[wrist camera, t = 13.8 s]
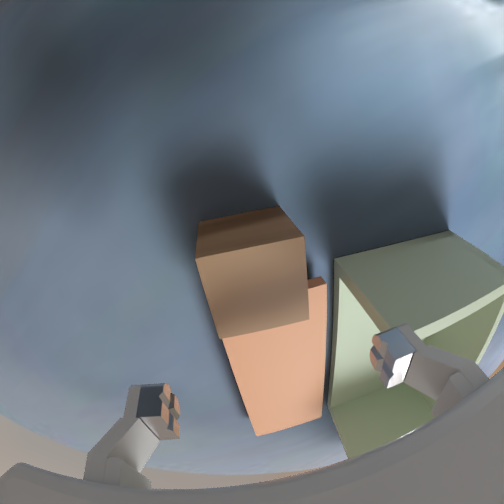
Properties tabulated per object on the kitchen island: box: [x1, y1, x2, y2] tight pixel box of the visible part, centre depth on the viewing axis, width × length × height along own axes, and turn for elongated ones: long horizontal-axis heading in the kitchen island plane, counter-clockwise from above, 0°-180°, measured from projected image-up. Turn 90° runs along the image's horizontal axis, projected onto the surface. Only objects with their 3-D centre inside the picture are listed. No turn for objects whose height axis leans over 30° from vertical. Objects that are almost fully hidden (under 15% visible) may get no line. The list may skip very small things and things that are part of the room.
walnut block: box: [195, 206, 309, 339], centre depth 16 cm, size 5×5×5 cm
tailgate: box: [222, 276, 327, 436], centre depth 22 cm, size 19×1×8 cm
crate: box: [327, 230, 504, 459], centre depth 20 cm, size 20×12×8 cm, turn 9°
